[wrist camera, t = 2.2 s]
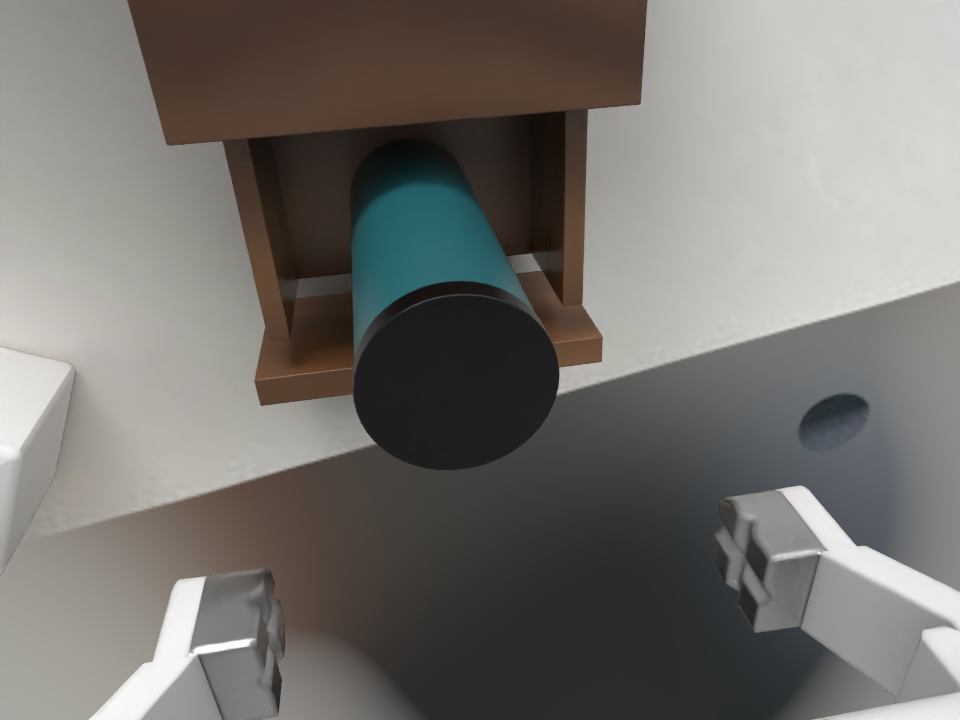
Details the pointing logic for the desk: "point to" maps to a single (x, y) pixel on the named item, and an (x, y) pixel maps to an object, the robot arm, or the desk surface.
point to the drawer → (327, 233)
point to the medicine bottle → (28, 437)
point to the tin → (440, 317)
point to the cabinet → (381, 62)
